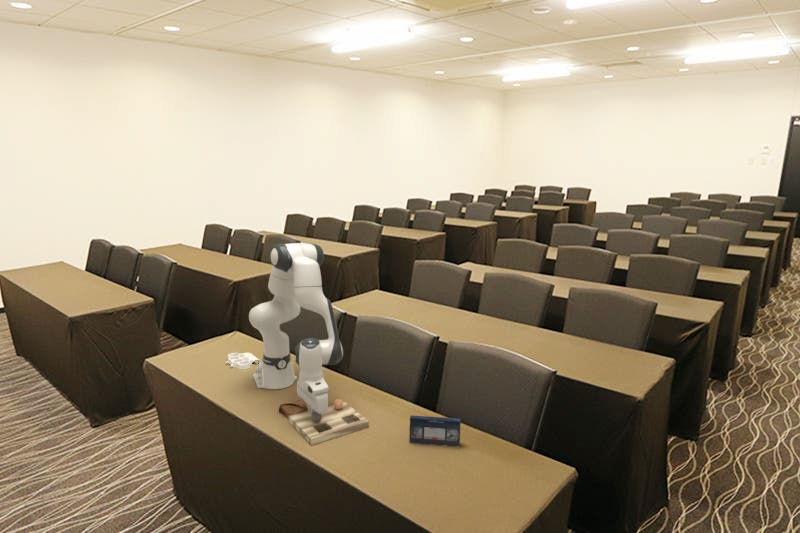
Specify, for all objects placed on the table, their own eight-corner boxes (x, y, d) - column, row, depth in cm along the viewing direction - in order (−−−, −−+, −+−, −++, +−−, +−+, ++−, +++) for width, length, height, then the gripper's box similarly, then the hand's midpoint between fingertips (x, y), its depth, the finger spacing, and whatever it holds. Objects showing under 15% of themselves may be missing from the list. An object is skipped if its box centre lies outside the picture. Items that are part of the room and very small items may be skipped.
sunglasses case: (288, 420, 202) (284, 403, 204) (281, 422, 207) (277, 406, 209) (327, 406, 214) (323, 391, 215) (320, 409, 219) (315, 394, 220)
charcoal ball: (311, 411, 194) (315, 422, 193) (321, 409, 196) (324, 419, 195) (308, 414, 197) (311, 425, 196) (317, 412, 199) (321, 422, 198)
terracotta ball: (331, 407, 208) (331, 398, 207) (340, 405, 210) (340, 396, 209) (336, 411, 204) (336, 402, 204) (345, 409, 207) (345, 400, 206)
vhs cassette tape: (408, 443, 188) (409, 418, 186) (409, 438, 191) (410, 414, 189) (459, 447, 185) (460, 422, 183) (459, 443, 188) (461, 418, 186)
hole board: (288, 422, 201) (288, 416, 200) (343, 406, 214) (343, 400, 214) (311, 445, 185) (311, 439, 184) (368, 426, 198) (368, 420, 198)
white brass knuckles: (263, 366, 254) (234, 373, 245) (248, 355, 268) (220, 361, 259) (263, 360, 254) (234, 367, 245) (248, 349, 267) (220, 355, 258)
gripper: (292, 373, 203) (293, 406, 206) (315, 392, 187) (316, 427, 190) (307, 370, 207) (307, 402, 209) (331, 388, 190) (331, 423, 193)
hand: (311, 414), depth 199 cm, fingers closed
